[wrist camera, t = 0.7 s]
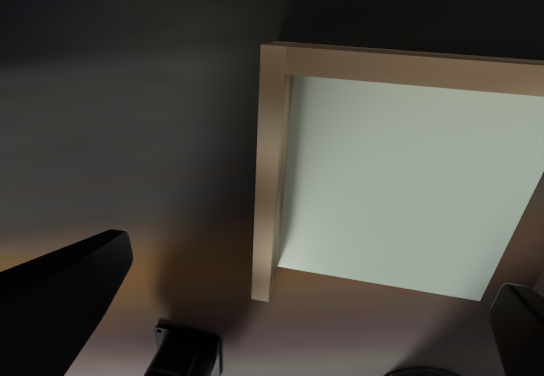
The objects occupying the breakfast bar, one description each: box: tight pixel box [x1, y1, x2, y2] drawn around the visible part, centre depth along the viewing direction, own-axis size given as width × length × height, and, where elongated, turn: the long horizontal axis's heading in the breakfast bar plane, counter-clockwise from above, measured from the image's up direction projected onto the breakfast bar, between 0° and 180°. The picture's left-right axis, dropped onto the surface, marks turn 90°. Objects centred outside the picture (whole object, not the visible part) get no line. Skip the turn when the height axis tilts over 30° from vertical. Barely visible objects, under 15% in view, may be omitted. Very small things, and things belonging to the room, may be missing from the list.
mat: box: [277, 41, 544, 301], centre depth 21 cm, size 16×16×1 cm
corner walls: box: [251, 41, 544, 302], centre depth 19 cm, size 16×16×4 cm
